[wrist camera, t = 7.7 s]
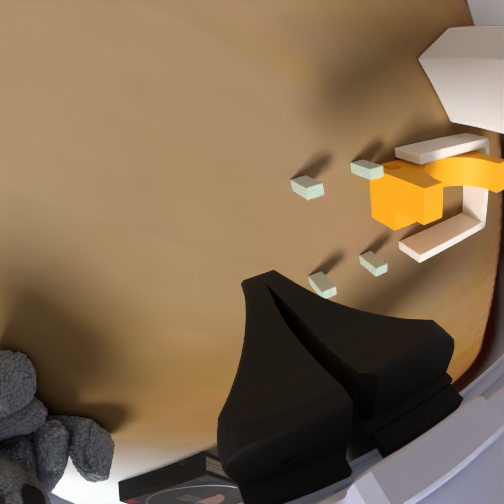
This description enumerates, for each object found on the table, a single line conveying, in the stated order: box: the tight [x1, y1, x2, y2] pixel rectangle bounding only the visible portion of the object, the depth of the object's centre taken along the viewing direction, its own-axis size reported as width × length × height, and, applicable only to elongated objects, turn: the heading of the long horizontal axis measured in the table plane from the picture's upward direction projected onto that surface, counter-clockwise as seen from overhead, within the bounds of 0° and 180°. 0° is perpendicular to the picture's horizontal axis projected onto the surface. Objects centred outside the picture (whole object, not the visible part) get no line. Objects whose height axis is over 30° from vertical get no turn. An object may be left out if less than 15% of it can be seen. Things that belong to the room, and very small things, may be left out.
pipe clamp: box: [369, 150, 504, 231], centre depth 21 cm, size 12×4×6 cm, turn 103°
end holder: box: [395, 133, 489, 263], centre depth 24 cm, size 10×11×3 cm
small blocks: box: [290, 175, 337, 299], centre depth 22 cm, size 9×1×2 cm, turn 14°
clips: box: [350, 159, 387, 276], centre depth 23 cm, size 9×1×2 cm, turn 14°
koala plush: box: [0, 349, 115, 504], centre depth 14 cm, size 17×18×20 cm
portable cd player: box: [118, 452, 243, 504], centre depth 36 cm, size 16×17×4 cm
